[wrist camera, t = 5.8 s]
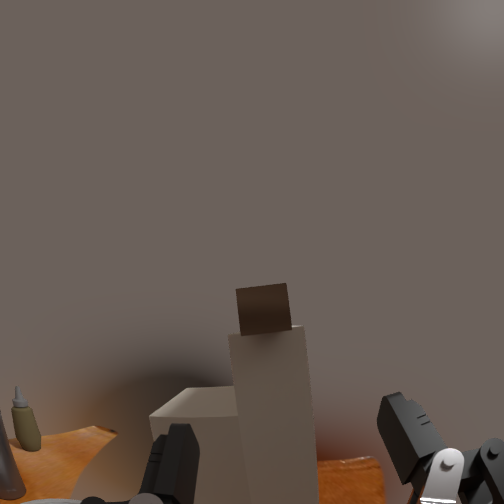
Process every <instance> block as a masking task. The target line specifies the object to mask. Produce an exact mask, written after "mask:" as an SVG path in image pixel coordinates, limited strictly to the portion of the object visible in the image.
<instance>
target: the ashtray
mask: <svg viewBox="0 0 504 504" xmlns="http://www.w3.org/2000/svg"><path fill="white" fill-rule="evenodd" d="M80 503H81V501H80V500H71V499H42V500H33V501H29V502H25V503H21V504H80Z"/></svg>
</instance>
